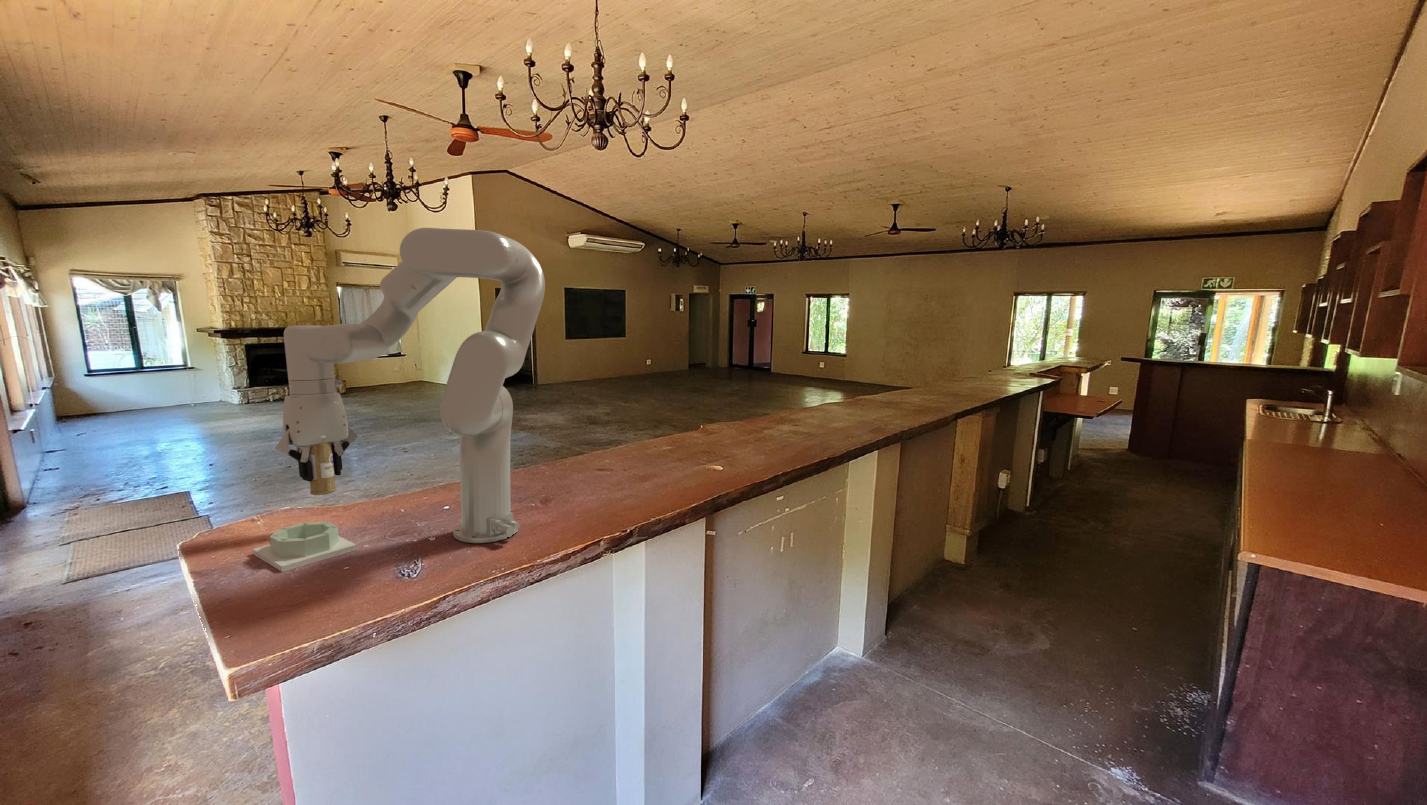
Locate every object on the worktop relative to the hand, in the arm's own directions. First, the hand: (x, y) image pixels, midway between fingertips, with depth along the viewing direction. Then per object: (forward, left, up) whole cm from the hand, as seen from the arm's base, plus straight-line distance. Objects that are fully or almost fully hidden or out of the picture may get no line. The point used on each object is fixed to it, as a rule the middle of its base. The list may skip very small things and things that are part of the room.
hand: (321, 476), depth 115 cm
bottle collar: (-10, +8, -11) cm, 17 cm away
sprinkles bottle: (0, 0, -4) cm, 4 cm away
